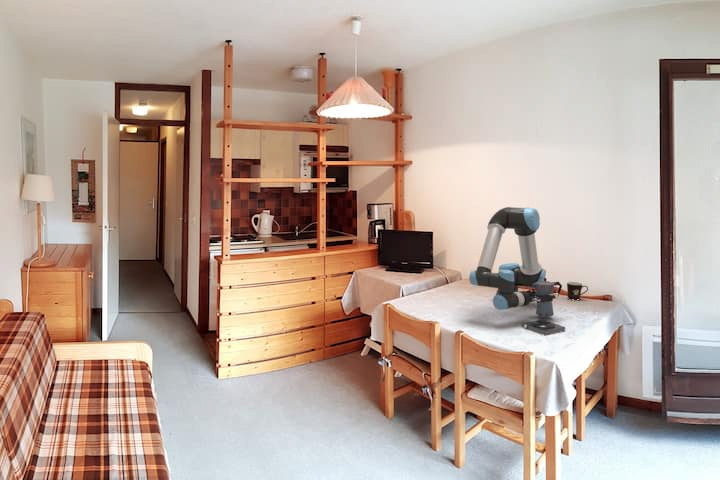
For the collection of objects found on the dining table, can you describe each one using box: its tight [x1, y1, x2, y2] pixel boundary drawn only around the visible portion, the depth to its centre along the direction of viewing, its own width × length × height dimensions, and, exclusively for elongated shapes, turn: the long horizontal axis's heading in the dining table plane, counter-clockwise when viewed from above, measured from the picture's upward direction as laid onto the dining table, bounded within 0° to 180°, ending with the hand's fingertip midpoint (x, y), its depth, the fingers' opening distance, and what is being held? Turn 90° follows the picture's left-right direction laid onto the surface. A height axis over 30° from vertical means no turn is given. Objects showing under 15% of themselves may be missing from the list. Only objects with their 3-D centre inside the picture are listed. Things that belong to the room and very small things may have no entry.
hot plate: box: [521, 319, 566, 336], centre depth 228 cm, size 15×14×2 cm
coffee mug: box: [566, 281, 589, 300], centre depth 285 cm, size 12×9×10 cm
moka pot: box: [533, 277, 563, 318], centre depth 246 cm, size 10×15×20 cm, turn 95°
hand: (550, 293), depth 247 cm, fingers closed on moka pot, 8 cm apart
